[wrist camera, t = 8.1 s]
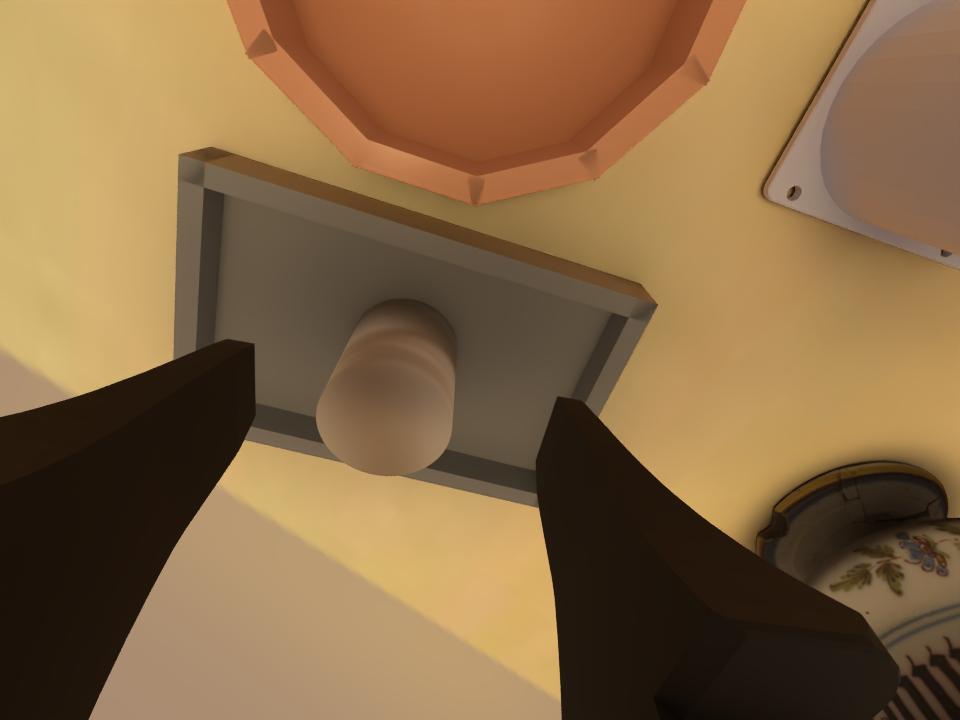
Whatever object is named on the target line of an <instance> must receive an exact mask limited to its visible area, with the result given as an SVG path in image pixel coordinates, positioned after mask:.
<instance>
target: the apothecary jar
mask: <svg viewBox="0 0 960 720" xmlns="http://www.w3.org/2000/svg"><path fill="white" fill-rule="evenodd" d="M947 514H948V500H947V495H946V492H945V490H944V488H943V485H942V484H941V483H940V481H939V480H938V479H937V478H936V477H934V476H933V475H932V474H930V473H929V472H927V471H925V470H923V469H920V468H918V467H915V466H911V465H907V464H902V463H894V462H873V463H864V464H858V465H853V466H848V467H845V468H840V469H837V470H834V471H831V472H829V473H826V474H824V475H821V476H819V477H817V478H815V479H813V480H811V481H809V482H807V483H805V484H804V485H802V486H800V487H799V488H797V489H796V490H794V491H793V492H792V493H790V494H789V495H788V496H786V497H785V498H784V499H783V500H782V501H781V502H780V503H779V504H778V505H777V506H776V507H775V508H774V509H773V517H772V523H771V525H770V526H769V528H767V529H766V530H765V531H763V532H761V533H759V535H758V537H757V543H756V552H757V555H758V556H759V557H761V558H762V559H764V560H766V561H767V562H769V563H771V564H772V565H774V566H776V567H777V568H779V569H781V570H782V571H784V572H786V573H787V574H789V575H791V576H792V577H794V578H796V579H797V580H799V581H801V582H803V583H805V584H807V585H808V586H810V587H812V588H814V589H816V590H818V591H820V592H822V593H824V594H825V595H827V596H829V597H831V598H833V599H835V600H837V601H839V602H840V603H842V604H844V605H846V606H848V607H850V608H852V609H854V610H856V611H857V612H859V613H861V614H862V615H863V617H864V618H865V619H866V621H867V622H868V624H869V625H870V626H871V628H872V629H873V631H874V632H875V634H876V635H877V636H878V638H879V639H880V641H881V642H882V643H883V645H884V646H885V648H886V649H887V650H888V652H889V653H890V655H891V656H892V657H893V659H894V660H895V662H896V663H897V664H898V666H899V669H900V677H901V680H900V684H899V687H898V689H897V691H896V694H895V696H894V698H893V699H892V700H891V701H890V702H889V703H888V704H887V706H886V707H885V708H884V709H883V710H882V711H881V712H879V713H878V714H877V715H876V716H875V717H874V718H873V719H871V720H960V518H947Z"/></svg>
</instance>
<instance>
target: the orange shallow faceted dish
mask: <svg viewBox="0 0 960 720" xmlns="http://www.w3.org/2000/svg"><path fill="white" fill-rule="evenodd" d="M745 2H746V0H227V3H228V5H229V8H230V11H231V13H232V16H233V19H234V21H235V24H236V26H237V29H238V32H239V34H240V37H241V40H242V42H243V45H244V48H245V50H246V52H245V54H246V55H247V56H248V58H249V59H251V60H252V61H253V62H254V63H255V64H256V65H257V66H258V67H259V68H260V69H261V70H262V71H263V72H264V73H265V74H266V75H267V76H268V77H269V78H270V79H271V80H272V81H273V82H274V83H275V85H276V86H277V87H278V88H279V89H280V90H281V91H282V92H283V93H284V94H285V95H286V96H287V97H288V98H289V99H290V100H291V101H292V102H293V103H294V104H295V105H296V106H297V107H298V108H299V109H300V110H301V111H302V112H303V113H304V114H305V115H306V117H307V118H308V119H309V120H310V121H311V122H312V123H313V124H314V125H315V126H316V127H317V128H318V129H319V130H320V131H321V132H322V133H323V134H324V135H325V136H326V137H327V138H328V139H329V140H330V141H331V142H332V143H333V144H334V145H335V146H336V148H337V149H338V150H339V151H340V152H341V153H342V154H343V155H344V156H345V157H346V158H347V159H348V160H349V161H350V162H351V163H352V165H353V166H355V167H356V168H357V167H359V168H362V169H365V170H368V171H371V172H374V173H377V174H380V175H383V176H386V177H389V178H392V179H396V180H399V181H402V182H405V183H408V184H411V185H414V186H417V187H420V188H423V189H426V190H429V191H432V192H435V193H438V194H441V195H444V196H447V197H450V198H453V199H457V200H460V201H463V202H466V203H469V204H472V206H478V205H480V204H485V203H489V202H494V201H498V200H503V199H507V198H512V197H516V196H521V195H525V194H530V193H534V192H538V191H543V190H547V189H552V188H556V187H561V186H565V185H570V184H574V183H579V182H583V181H588V180H592V179H594V180H596V179H597V178H599V176H600V175H601V174H603V173H604V172H605V171H606V170H607V169H608V168H609V167H611V166H612V165H613V164H614V163H615V162H616V161H618V160H619V159H620V158H621V157H622V156H623V155H624V154H626V153H627V152H628V151H629V150H630V149H631V148H633V147H634V146H635V145H636V144H637V143H638V142H639V141H641V140H642V139H643V138H644V137H645V136H646V135H648V134H649V133H650V132H651V131H652V130H653V129H654V128H656V127H657V126H658V125H659V124H660V123H661V122H663V121H664V120H665V119H666V118H667V117H668V116H669V115H671V114H672V113H673V112H674V111H675V110H676V109H678V108H679V107H680V106H681V105H682V104H683V103H684V102H686V101H687V100H688V99H689V98H690V97H691V96H693V95H694V94H695V93H696V92H697V91H698V90H699V89H701V88H702V87H703V86H706V85H707V83H708V82H709V81H710V79H709V78H710V76H711V74H712V72H713V70H714V68H715V66H716V64H717V61H718V59H719V57H720V55H721V53H722V51H723V49H724V47H725V45H726V42H727V40H728V38H729V36H730V34H731V32H732V30H733V28H734V26H735V24H736V21H737V19H738V17H739V15H740V13H741V11H742V9H743V7H744V5H745Z"/></svg>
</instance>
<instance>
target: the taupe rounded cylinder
mask: <svg viewBox="0 0 960 720" xmlns="http://www.w3.org/2000/svg"><path fill="white" fill-rule="evenodd" d="M456 364H457V339H456V336H455V332H454V330H453V328H452V326H451V325H450V323H449V322H448V320H447V319H446V318H445V317H444V316H443V315H442V314H441V313H440V312H439V311H438V310H436V309H435V308H433V307H432V306H430V305H428V304H426V303H423V302H420V301H417V300H413V299H391V300H387V301H384V302H381V303H379V304H377V305H375V306H373V307H372V308H370V309H369V310H368V311H367V312H366V313H365V314H364V315H363V316H362V317H361V318H360V320H359V321H358V323H357V325H356V327H355V329H354V331H353V333H352V335H351V337H350V339H349V341H348V343H347V345H346V347H345V349H344V351H343V353H342V355H341V357H340V359H339V361H338V363H337V365H336V367H335V369H334V371H333V373H332V375H331V377H330V379H329V381H328V383H327V385H326V387H325V389H324V391H323V393H322V395H321V397H320V399H319V402H318V405H317V410H316V423H317V428H318V431H319V434H320V436H321V438H322V440H323V442H324V443H325V445H326V446H327V447H328V449H329V450H330V451H331V452H332V453H333V454H334V455H335V456H336V457H337V458H338V459H340V460H341V461H343V462H344V463H346V464H347V465H349V466H351V467H353V468H355V469H357V470H360V471H362V472H366V473H369V474H374V475H381V476H399V475H406V474H410V473H413V472H416V471H419V470H421V469H423V468H425V467H427V466H429V465H430V464H432V463H433V462H434V461H435V460H437V459H438V458H439V457H440V456H441V454H442V453H443V452H444V450H445V449H446V447H447V445H448V443H449V441H450V437H451V433H452V424H453V409H454V394H455V379H456Z"/></svg>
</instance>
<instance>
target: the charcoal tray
mask: <svg viewBox="0 0 960 720" xmlns="http://www.w3.org/2000/svg"><path fill="white" fill-rule="evenodd" d="M391 299H413V300H417V301H420V302H423V303H426V304H428V305H430V306H432V307H433V308H435V309H436V310H438V311H439V312H440V313H441V314H442V315H443V316H444V317H445V318H446V319H447V320H448V322H449V323H450V325H451V326H452V328H453V330H454V332H455V336H456V339H457V364H456V379H455V394H454V409H453V424H452V433H451V437H450V441H449V443H448V445H447V447H446V449H445V450H444V452H443V453H442V454H441V456H440V457H439V458H438V459H437V460H435V461H434V462H433V463H432V464H430V465H429V466H427V467H425V468H423V469H421V470H419V471H416V472H413V473H410V474H406V475H399V476H403V477H407V478H412V479H416V480H420V481H425V482H429V483H433V484H438V485H442V486H446V487H451V488H455V489H459V490H464V491H468V492H472V493H477V494H481V495H485V496H489V497H494V498H498V499H502V500H507V501H511V502H515V503H520V504H524V505H528V506H533V507H537V508H539V505H538V498H537V485H536V458H537V455H538V452H539V449H540V446H541V443H542V440H543V437H544V434H545V431H546V428H547V425H548V422H549V419H550V416H551V413H552V410H553V407H554V404H555V402H556V399H557V396H560V397H565V398H571V399H577V400H582V401H583V402H584V403H585V404H586V405H587V406H588V407H589V408H590V409H591V410H592V412H593V413H594V414H595V415H596V416H597V417H598V416H599V414H600V413H601V411H602V409H603V407H604V405H605V403H606V401H607V399H608V398H609V396H610V394H611V392H612V390H613V388H614V386H615V384H616V383H617V381H618V379H619V377H620V375H621V373H622V371H623V369H624V368H625V366H626V364H627V362H628V360H629V358H630V356H631V354H632V353H633V351H634V349H635V347H636V345H637V343H638V341H639V340H640V338H641V336H642V334H643V332H644V330H645V328H646V326H647V325H648V323H649V321H650V319H651V317H652V315H653V313H654V311H655V310H656V308H657V306H658V304H657V303H656V302H655V301H654V299H653V298H652V297H651V296H650V295H649V293H648V292H647V291H646V290H645V289H644V288H643V286H642V285H641V284H639V283H636V282H633V281H629V280H626V279H623V278H620V277H617V276H614V275H611V274H607V273H604V272H601V271H598V270H595V269H592V268H589V267H586V266H582V265H579V264H576V263H573V262H570V261H567V260H564V259H561V258H557V257H554V256H551V255H548V254H545V253H542V252H539V251H535V250H532V249H529V248H526V247H523V246H520V245H517V244H514V243H510V242H507V241H504V240H501V239H498V238H495V237H492V236H489V235H485V234H482V233H479V232H476V231H473V230H470V229H467V228H463V227H460V226H457V225H454V224H451V223H448V222H445V221H442V220H438V219H435V218H432V217H429V216H426V215H423V214H420V213H417V212H413V211H410V210H407V209H404V208H401V207H398V206H395V205H391V204H388V203H385V202H382V201H379V200H376V199H373V198H370V197H366V196H363V195H360V194H357V193H354V192H351V191H348V190H345V189H341V188H338V187H335V186H332V185H329V184H326V183H323V182H319V181H316V180H313V179H310V178H307V177H304V176H301V175H298V174H294V173H291V172H288V171H285V170H282V169H279V168H276V167H273V166H269V165H266V164H263V163H260V162H257V161H254V160H251V159H247V158H244V157H241V156H238V155H235V154H232V153H229V152H226V151H222V150H219V149H216V148H213V147H208V148H204V149H200V150H195V151H191V152H186V153H182V154H179V165H178V204H177V243H176V282H175V321H174V360H175V359H177V358H180V357H182V356H185V355H187V354H189V353H192V352H194V351H196V350H199V349H201V348H204V347H206V346H208V345H211V344H214V343H216V342H219V341H222V340H225V339H232V340H237V341H243V342H249V343H255V397H256V416H255V418H254V421H253V423H252V425H251V427H250V429H249V431H248V433H247V435H246V437H245V439H244V440H247V441H252V442H256V443H260V444H265V445H269V446H273V447H278V448H282V449H286V450H291V451H295V452H299V453H303V454H308V455H312V456H316V457H321V458H325V459H329V460H334V461H338V462H342V463H344V462H343V461H341V460H340V459H338V458H337V457H336V456H335V455H334V454H333V453H332V452H331V451H330V450H329V449H328V447H327V446H326V445H325V443H324V442H323V440H322V438H321V436H320V434H319V431H318V428H317V423H316V410H317V405H318V402H319V399H320V397H321V395H322V393H323V391H324V389H325V387H326V385H327V383H328V381H329V379H330V377H331V375H332V373H333V371H334V369H335V367H336V365H337V363H338V361H339V359H340V357H341V355H342V353H343V351H344V349H345V347H346V345H347V343H348V341H349V339H350V337H351V335H352V333H353V331H354V329H355V327H356V325H357V323H358V321H359V320H360V318H361V317H362V316H363V315H364V314H365V313H366V312H367V311H368V310H369V309H370V308H372V307H373V306H375V305H377V304H379V303H381V302H384V301H387V300H391Z"/></svg>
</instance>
